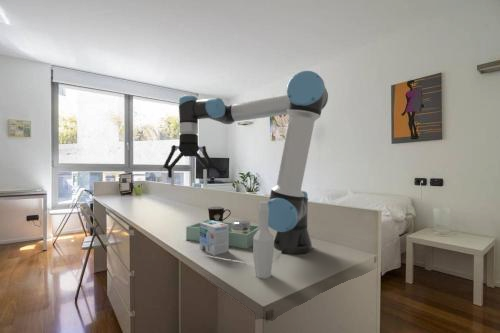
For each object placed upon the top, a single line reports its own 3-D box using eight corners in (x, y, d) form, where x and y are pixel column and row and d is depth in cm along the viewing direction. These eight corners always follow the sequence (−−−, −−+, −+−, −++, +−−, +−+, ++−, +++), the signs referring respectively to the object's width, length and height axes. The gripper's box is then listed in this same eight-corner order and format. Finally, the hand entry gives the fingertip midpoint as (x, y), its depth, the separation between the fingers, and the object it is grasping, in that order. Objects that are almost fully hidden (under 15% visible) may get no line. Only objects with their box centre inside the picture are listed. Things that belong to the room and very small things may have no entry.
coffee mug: (205, 227, 135) (205, 208, 135) (210, 223, 144) (211, 206, 144) (227, 228, 133) (227, 209, 133) (231, 224, 142) (231, 206, 142)
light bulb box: (198, 249, 99) (199, 222, 99) (213, 246, 104) (213, 219, 104) (214, 257, 92) (214, 227, 92) (229, 253, 96) (229, 224, 96)
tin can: (253, 239, 111) (253, 221, 111) (245, 244, 104) (245, 225, 104) (236, 237, 115) (236, 219, 115) (227, 242, 107) (227, 223, 107)
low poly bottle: (250, 271, 79) (250, 201, 79) (270, 270, 81) (270, 200, 81) (255, 280, 73) (256, 204, 73) (276, 278, 74) (277, 203, 74)
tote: (262, 239, 114) (262, 226, 114) (247, 250, 100) (247, 234, 99) (206, 231, 126) (206, 219, 126) (186, 240, 112) (186, 226, 112)
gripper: (214, 136, 115) (215, 183, 115) (155, 133, 104) (156, 185, 104) (220, 134, 108) (220, 184, 108) (158, 131, 97) (158, 187, 97)
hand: (189, 185), depth 106 cm, fingers open, 13 cm apart
